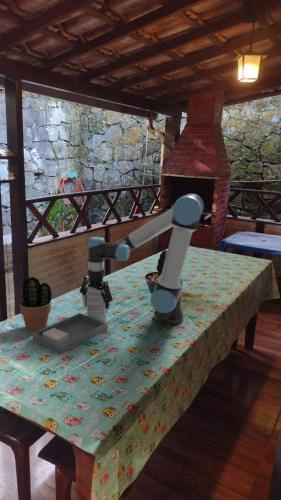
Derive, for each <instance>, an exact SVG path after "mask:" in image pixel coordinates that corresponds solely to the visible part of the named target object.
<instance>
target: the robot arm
mask: <svg viewBox="0 0 281 500" xmlns="http://www.w3.org/2000/svg"><path fill="white" fill-rule="evenodd" d="M204 209H205V204H204V200H203V198H201V197H200V195H199V194H197V193H187V194H184V195H183V196H181V197H179V198H178V199H177V200H176V201H175V202H174V204H172V205H171V208H169V209H168V210H166V211H165V212H163V213H162V214H160V215H158V216H156V217H155V218H153V219H152V220H150V221H149V222H147V223H146V224H144V225H142V226H140V227H139V228H137V229H135V230H133V231H132V232H131V233H129V234H127V235H125V236H124V237H121V238H120V239H119V240H117V241H116V242H114V243H112V242H106V241H105V238H104V237H102V236H92V237H89V238H88V244H87V245H88V246H87V248H88V249H87V251H88V252H87V255H88V257H87V258H88V260H87V262H88V263H87V269H88V270H87V275H85V276H84V277H83V282H82V284H81V286H80V288H79V293H80V294H81V295H82V301H83V302H82V303H83V306H82V307H83V309H87V290H88V287H91V286H92V287H93V288H96V289H98V290H100V291H101V290H104V291H105V294H104V293H103V292H102V291H101V295H102V297H103V299H104V301H105V302H103V315H106V316H107V315H108V314H109V308H110V303H111V302H113V301H114V299H113V297H112V293H111V290H110V287H109V281H108V280H106V281H104V277H105V270H104V269H105V259H108V260H114V261H120V262H121V261H123V262H125V261H128V260H129V257H130V252H132V251H133V250H135V249H137V248H138V247H140V246H141V245H143V244H145V243H147V242H148V241H150V240H152V239H153V238H155V237H157V236H158V235H160V234H162V233H164V232H166V231H167V230H169V229H171V228H172V227H173V228H172V232H171V235H170V239H169V244H168V248H167V251H166V256H165V260H164V263H163V267H162V272H161V274H160V275H159V277H158V278H157V279H156V282H155V285H154V289H153V291H152V294H151V295H150V304H151V306H152V307H153V309H154V313H153V320H155V322H157V323H158V324H159V323H160V324H161V325H169V326H170V325H171V326H174V325H178V324H181V323H183V321H184V312H183V308H182V296H183V284H184V280H183V278H184V277H183V276H182V272H183V268H184V266H185V262H186V257H187V254H188V250H189V248H190V243H191V239H192V235H193V232H195V231H197V230H198V228H199V223H200V220H201V217H202V216H201V215H203V212H204ZM100 287H101V288H100Z"/></svg>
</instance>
